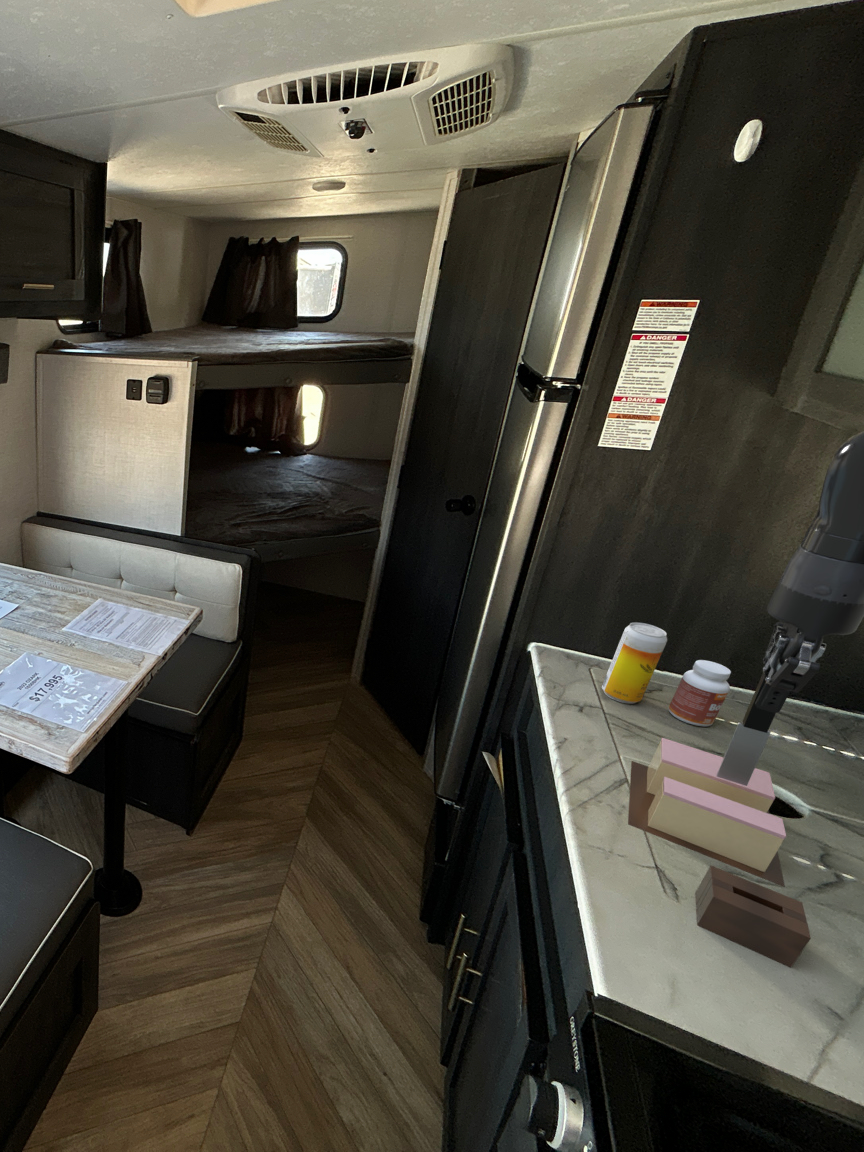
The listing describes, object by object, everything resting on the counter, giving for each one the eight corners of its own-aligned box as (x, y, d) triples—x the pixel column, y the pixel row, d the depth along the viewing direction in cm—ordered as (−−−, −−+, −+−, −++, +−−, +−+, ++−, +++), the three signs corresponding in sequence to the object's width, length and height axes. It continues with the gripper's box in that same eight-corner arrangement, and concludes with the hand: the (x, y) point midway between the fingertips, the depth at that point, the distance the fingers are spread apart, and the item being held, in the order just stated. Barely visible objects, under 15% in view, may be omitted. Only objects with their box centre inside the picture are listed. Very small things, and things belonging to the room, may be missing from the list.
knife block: (780, 936, 77) (802, 902, 75) (787, 973, 73) (811, 938, 71) (692, 898, 82) (710, 864, 80) (693, 930, 78) (713, 896, 76)
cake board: (765, 813, 95) (768, 808, 95) (782, 892, 83) (785, 887, 82) (629, 765, 105) (631, 760, 105) (625, 829, 93) (627, 824, 92)
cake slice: (761, 854, 87) (782, 818, 85) (764, 872, 85) (786, 836, 82) (648, 810, 95) (664, 776, 92) (647, 826, 92) (664, 791, 89)
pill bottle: (708, 732, 113) (733, 680, 109) (663, 715, 117) (686, 665, 113) (715, 719, 116) (740, 668, 112) (671, 703, 121) (694, 653, 117)
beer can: (644, 709, 119) (673, 640, 113) (603, 699, 122) (630, 632, 116) (636, 692, 124) (664, 626, 118) (597, 683, 127) (623, 618, 121)
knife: (746, 782, 87) (792, 677, 81) (747, 788, 86) (794, 682, 80) (715, 772, 89) (759, 669, 83) (716, 779, 88) (760, 674, 82)
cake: (751, 806, 95) (769, 772, 93) (755, 832, 91) (775, 797, 88) (647, 769, 103) (662, 737, 100) (646, 792, 98) (662, 758, 96)
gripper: (887, 617, 69) (815, 743, 76) (860, 578, 79) (798, 693, 86) (788, 597, 74) (729, 718, 81) (774, 562, 83) (722, 673, 90)
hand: (765, 704), depth 83 cm, fingers closed on knife, 1 cm apart
